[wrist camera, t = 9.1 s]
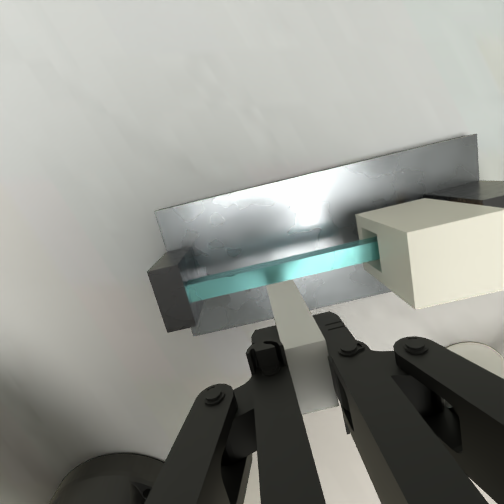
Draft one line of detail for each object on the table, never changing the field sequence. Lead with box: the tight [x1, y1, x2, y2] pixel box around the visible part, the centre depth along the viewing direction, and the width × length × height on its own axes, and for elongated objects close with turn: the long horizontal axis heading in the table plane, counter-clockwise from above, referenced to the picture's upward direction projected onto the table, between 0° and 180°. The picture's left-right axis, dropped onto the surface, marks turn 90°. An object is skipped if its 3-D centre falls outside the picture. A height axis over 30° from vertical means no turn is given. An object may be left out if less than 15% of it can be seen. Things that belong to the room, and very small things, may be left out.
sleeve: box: [355, 198, 504, 310], centre depth 19 cm, size 5×4×7 cm
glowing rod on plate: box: [147, 134, 504, 336], centre depth 22 cm, size 25×11×7 cm, turn 103°
